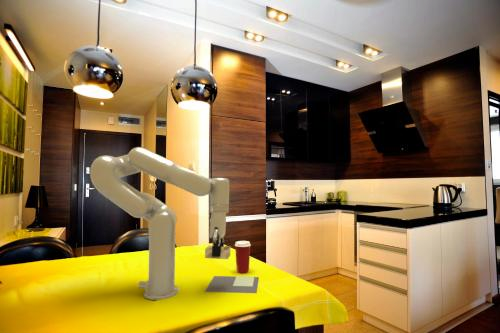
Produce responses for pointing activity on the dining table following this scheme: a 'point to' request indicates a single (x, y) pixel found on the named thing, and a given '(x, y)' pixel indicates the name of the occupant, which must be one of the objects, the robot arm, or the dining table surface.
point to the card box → (224, 254)
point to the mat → (233, 284)
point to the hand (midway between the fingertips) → (217, 254)
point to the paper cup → (242, 256)
